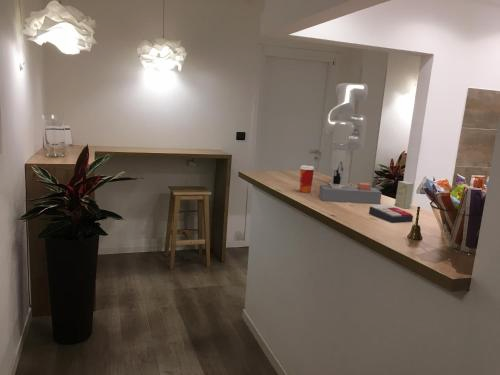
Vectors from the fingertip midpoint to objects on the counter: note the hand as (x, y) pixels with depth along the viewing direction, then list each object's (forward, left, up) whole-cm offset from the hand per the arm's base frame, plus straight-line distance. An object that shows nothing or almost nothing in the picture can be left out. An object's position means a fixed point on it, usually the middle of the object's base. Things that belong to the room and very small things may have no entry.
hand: (336, 183), depth 208 cm
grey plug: (0, 0, -8) cm, 8 cm away
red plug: (0, +14, -6) cm, 15 cm away
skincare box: (+9, +31, -8) cm, 33 cm away
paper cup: (-15, -13, -8) cm, 21 cm away
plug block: (0, +7, -8) cm, 11 cm away
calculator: (+32, +17, -9) cm, 38 cm away
